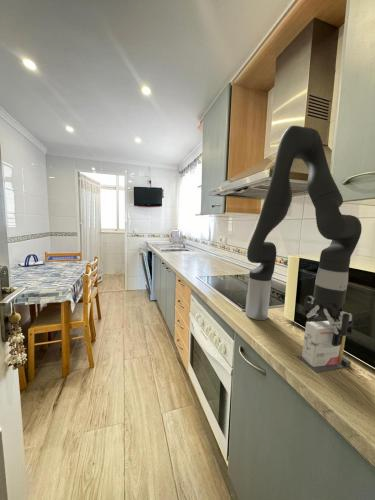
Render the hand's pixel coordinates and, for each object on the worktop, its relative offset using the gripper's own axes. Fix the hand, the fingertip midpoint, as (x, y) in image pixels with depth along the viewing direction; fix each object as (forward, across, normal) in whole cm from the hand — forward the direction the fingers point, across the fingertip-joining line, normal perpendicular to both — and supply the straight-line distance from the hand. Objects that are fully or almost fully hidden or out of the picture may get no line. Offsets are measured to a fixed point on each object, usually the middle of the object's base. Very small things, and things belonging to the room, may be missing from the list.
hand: (322, 336), depth 63 cm
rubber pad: (+8, 0, 0) cm, 8 cm away
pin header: (+8, 0, +7) cm, 10 cm away
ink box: (+8, 0, 0) cm, 8 cm away
